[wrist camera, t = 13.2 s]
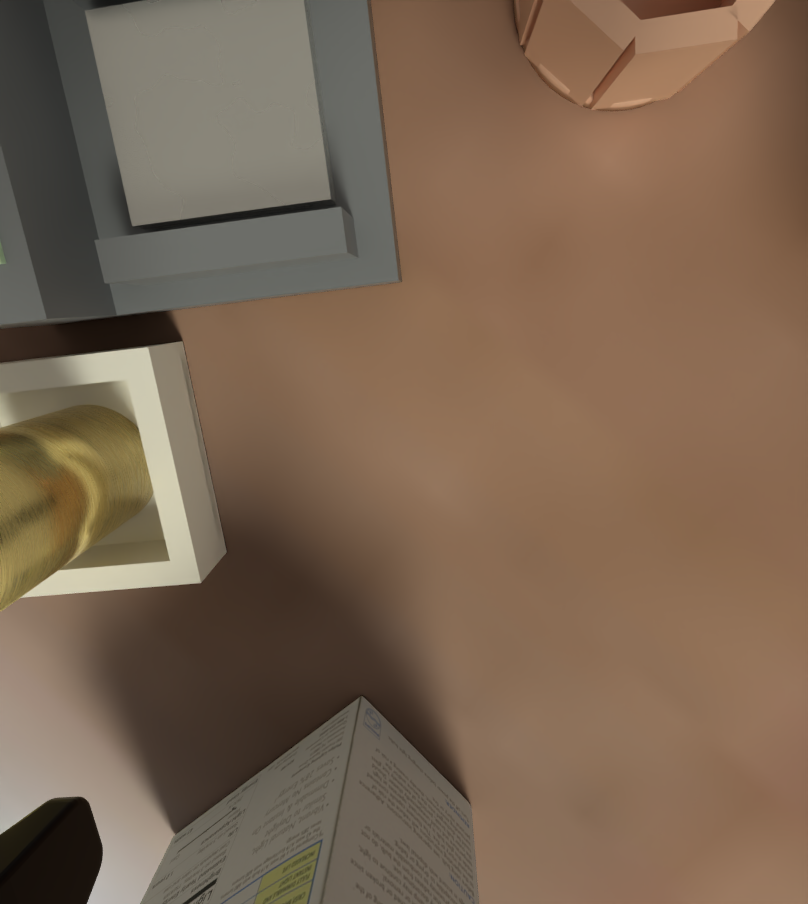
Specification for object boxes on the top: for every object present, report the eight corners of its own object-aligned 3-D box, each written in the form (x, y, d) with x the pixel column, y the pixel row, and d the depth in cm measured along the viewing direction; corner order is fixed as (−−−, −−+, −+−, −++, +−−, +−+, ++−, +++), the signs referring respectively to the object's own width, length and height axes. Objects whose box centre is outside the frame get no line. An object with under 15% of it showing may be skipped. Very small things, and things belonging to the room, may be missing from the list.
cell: (141, 398, 18) (-65, 467, 11) (169, 517, 19) (-1, 657, 12) (21, 411, 18) (-259, 487, 11) (54, 528, 19) (-181, 670, 12)
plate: (307, -9, 14) (300, -27, 13) (336, 204, 15) (330, 198, 14) (103, 26, 14) (84, 10, 14) (147, 229, 16) (132, 226, 15)
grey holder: (361, -83, 15) (327, -250, 10) (401, 281, 17) (388, 276, 12) (-38, -12, 16) (-230, -136, 11) (51, 324, 18) (-79, 333, 13)
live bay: (182, 340, 18) (147, 347, 16) (226, 552, 20) (201, 583, 17) (-31, 366, 18) (-92, 375, 16) (31, 568, 20) (-17, 600, 18)
